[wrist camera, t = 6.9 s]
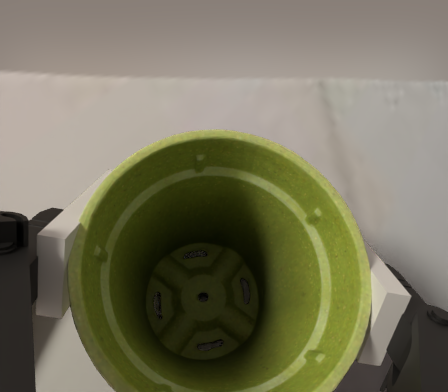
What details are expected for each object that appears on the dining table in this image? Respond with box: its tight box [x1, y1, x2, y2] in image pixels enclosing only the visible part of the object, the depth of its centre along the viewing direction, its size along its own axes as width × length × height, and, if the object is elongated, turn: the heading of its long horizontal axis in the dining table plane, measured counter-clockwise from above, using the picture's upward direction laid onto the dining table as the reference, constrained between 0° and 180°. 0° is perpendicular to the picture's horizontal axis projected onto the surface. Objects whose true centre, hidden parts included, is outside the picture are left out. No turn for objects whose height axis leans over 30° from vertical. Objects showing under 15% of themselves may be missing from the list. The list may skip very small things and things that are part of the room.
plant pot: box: [68, 129, 372, 392], centre depth 15 cm, size 9×9×9 cm
